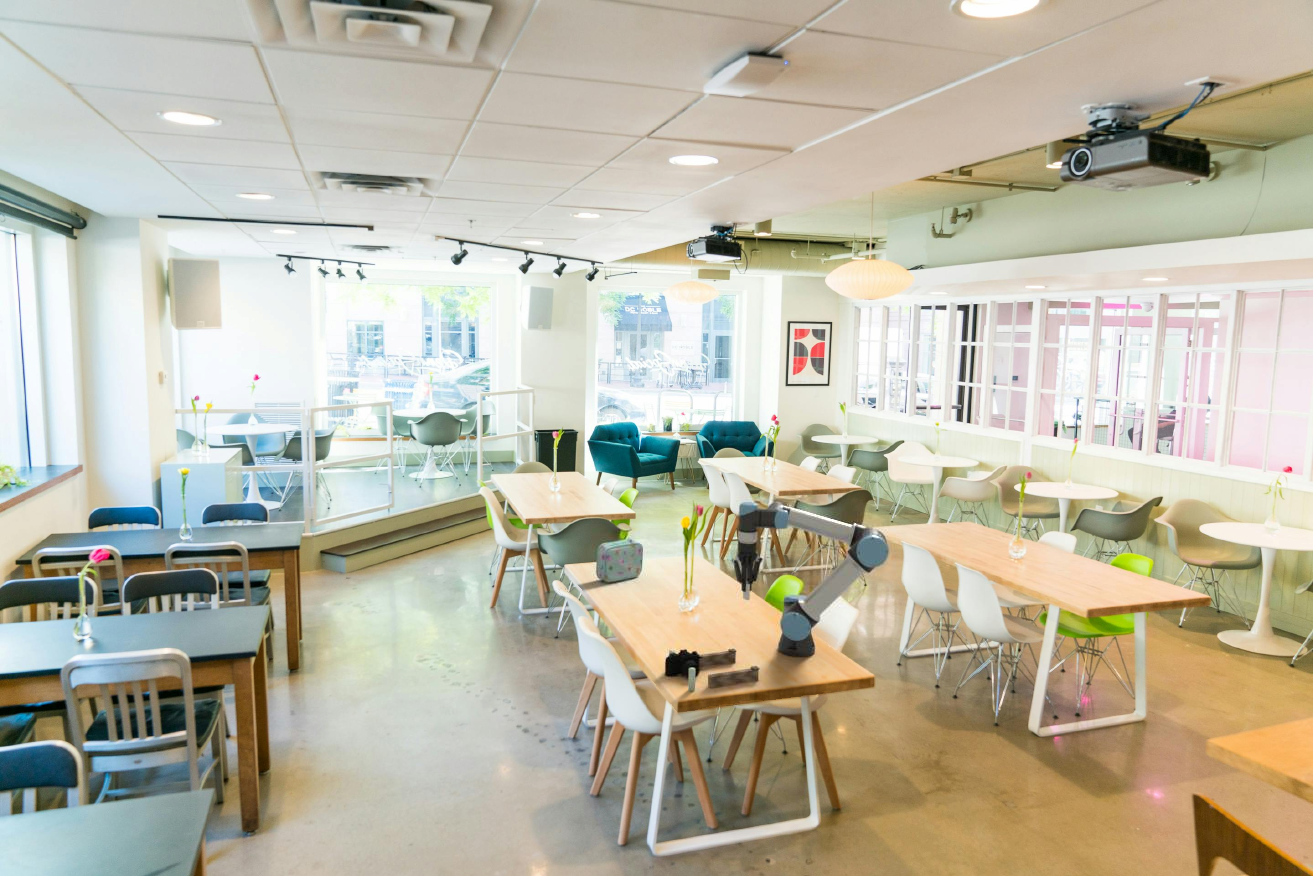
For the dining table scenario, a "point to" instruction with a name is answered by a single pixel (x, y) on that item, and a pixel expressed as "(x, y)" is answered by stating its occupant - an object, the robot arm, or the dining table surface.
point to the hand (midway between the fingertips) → (746, 599)
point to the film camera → (682, 663)
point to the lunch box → (619, 560)
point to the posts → (691, 676)
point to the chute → (727, 677)
